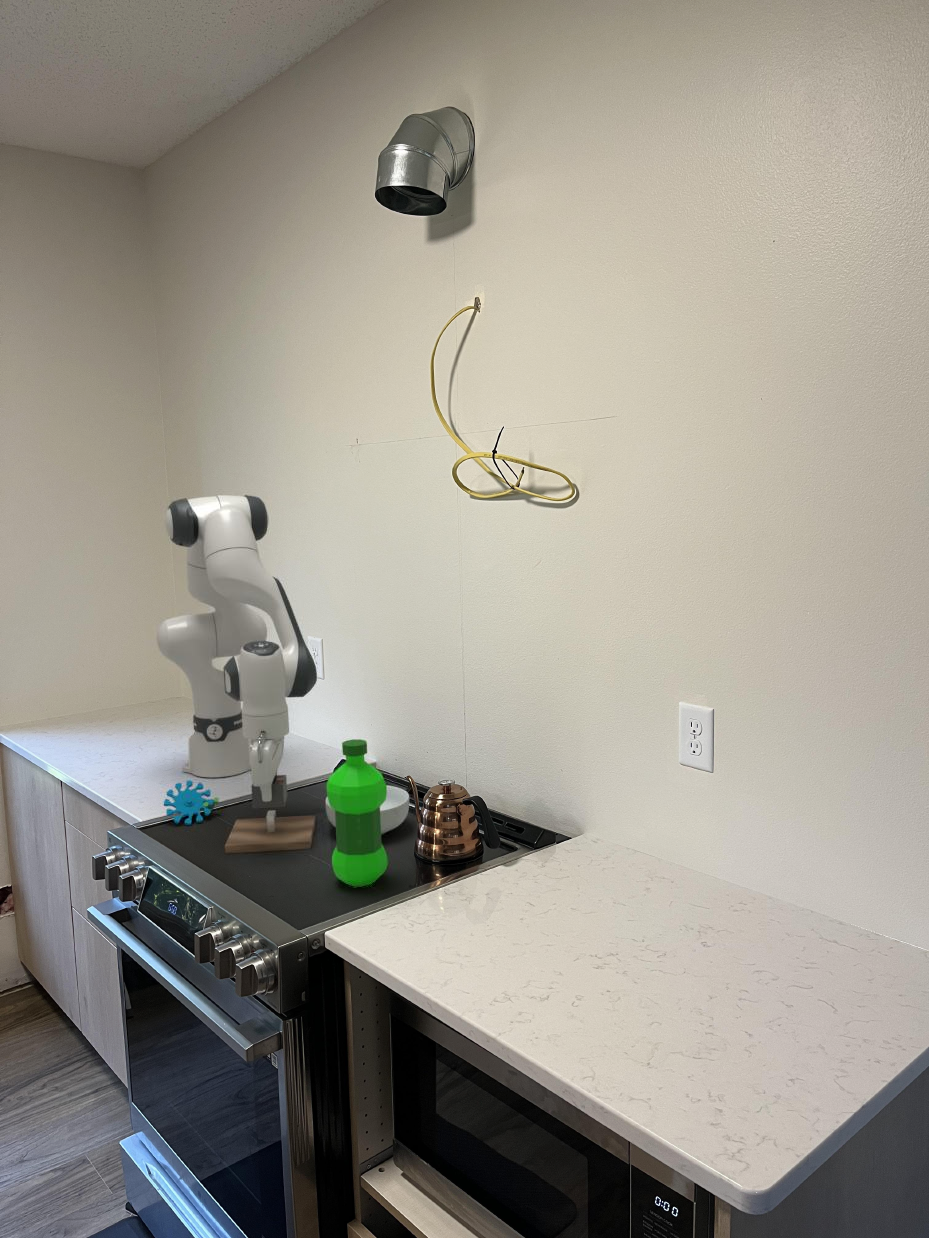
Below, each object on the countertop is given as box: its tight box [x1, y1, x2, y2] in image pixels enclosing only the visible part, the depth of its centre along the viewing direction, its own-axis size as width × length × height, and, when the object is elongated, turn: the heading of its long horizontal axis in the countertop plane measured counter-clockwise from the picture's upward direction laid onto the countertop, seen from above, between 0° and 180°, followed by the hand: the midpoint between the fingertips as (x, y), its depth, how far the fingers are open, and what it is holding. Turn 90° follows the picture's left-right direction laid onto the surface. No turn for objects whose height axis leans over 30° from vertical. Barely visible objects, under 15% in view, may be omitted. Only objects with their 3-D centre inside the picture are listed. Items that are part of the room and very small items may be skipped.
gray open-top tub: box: [250, 774, 288, 809], centre depth 181 cm, size 6×6×5 cm
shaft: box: [266, 809, 277, 833], centre depth 182 cm, size 3×1×4 cm, turn 5°
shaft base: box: [224, 815, 317, 854], centre depth 182 cm, size 14×16×2 cm
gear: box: [163, 780, 220, 826], centre depth 194 cm, size 11×6×10 cm
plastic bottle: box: [325, 739, 388, 886], centre depth 159 cm, size 10×10×25 cm
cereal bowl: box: [324, 784, 410, 836], centre depth 184 cm, size 17×17×7 cm
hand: (269, 793), depth 181 cm, fingers closed on gray open-top tub, 6 cm apart
